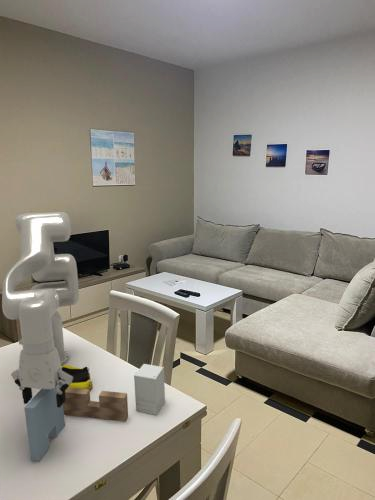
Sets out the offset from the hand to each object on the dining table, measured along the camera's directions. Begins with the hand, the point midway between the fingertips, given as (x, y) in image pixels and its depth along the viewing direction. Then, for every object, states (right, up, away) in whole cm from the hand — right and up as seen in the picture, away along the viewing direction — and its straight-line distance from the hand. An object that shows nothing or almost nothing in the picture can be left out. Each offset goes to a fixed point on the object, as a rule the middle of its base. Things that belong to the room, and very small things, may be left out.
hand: (44, 402), depth 103 cm
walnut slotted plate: (+10, -10, +14) cm, 20 cm away
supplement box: (+27, -9, +18) cm, 34 cm away
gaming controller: (0, -6, +29) cm, 30 cm away
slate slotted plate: (0, -12, +3) cm, 13 cm away
